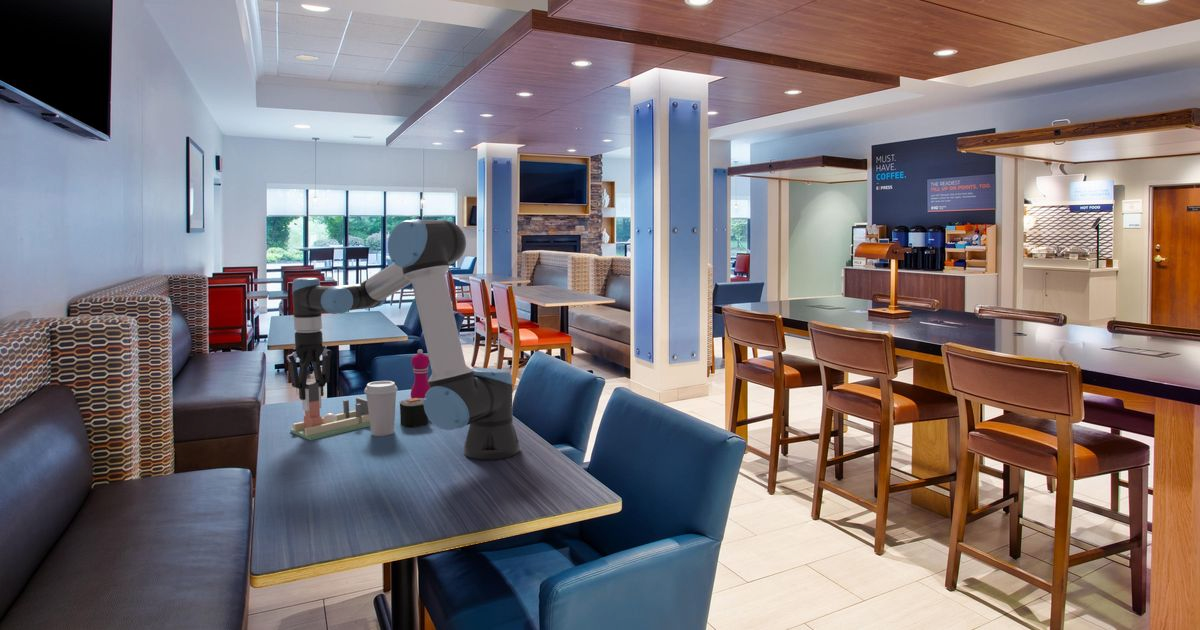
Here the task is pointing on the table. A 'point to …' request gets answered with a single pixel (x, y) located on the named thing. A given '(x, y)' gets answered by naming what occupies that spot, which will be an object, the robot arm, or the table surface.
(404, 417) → the sushi
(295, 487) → the table surface
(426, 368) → the pepper mill
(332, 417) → the ball
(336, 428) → the pitch
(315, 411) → the black and red block
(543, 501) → the table surface
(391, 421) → the coffee cup
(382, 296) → the robot arm
